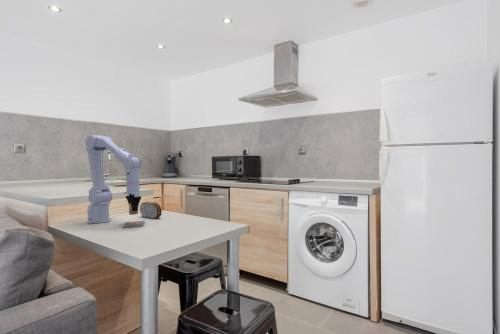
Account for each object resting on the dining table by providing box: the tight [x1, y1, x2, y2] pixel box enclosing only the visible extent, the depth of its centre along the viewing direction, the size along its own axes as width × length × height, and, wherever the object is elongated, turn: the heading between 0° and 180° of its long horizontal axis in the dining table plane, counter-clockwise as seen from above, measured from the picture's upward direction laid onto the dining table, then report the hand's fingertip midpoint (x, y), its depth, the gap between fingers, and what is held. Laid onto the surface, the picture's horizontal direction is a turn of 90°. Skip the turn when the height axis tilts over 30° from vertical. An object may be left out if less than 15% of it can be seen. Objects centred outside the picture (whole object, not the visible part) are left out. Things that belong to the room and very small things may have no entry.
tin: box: [139, 201, 162, 220], centre depth 151 cm, size 15×3×8 cm, turn 58°
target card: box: [122, 220, 146, 229], centre depth 134 cm, size 9×10×1 cm
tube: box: [128, 203, 139, 216], centre depth 134 cm, size 4×4×5 cm
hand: (133, 210), depth 134 cm, fingers closed on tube, 4 cm apart
